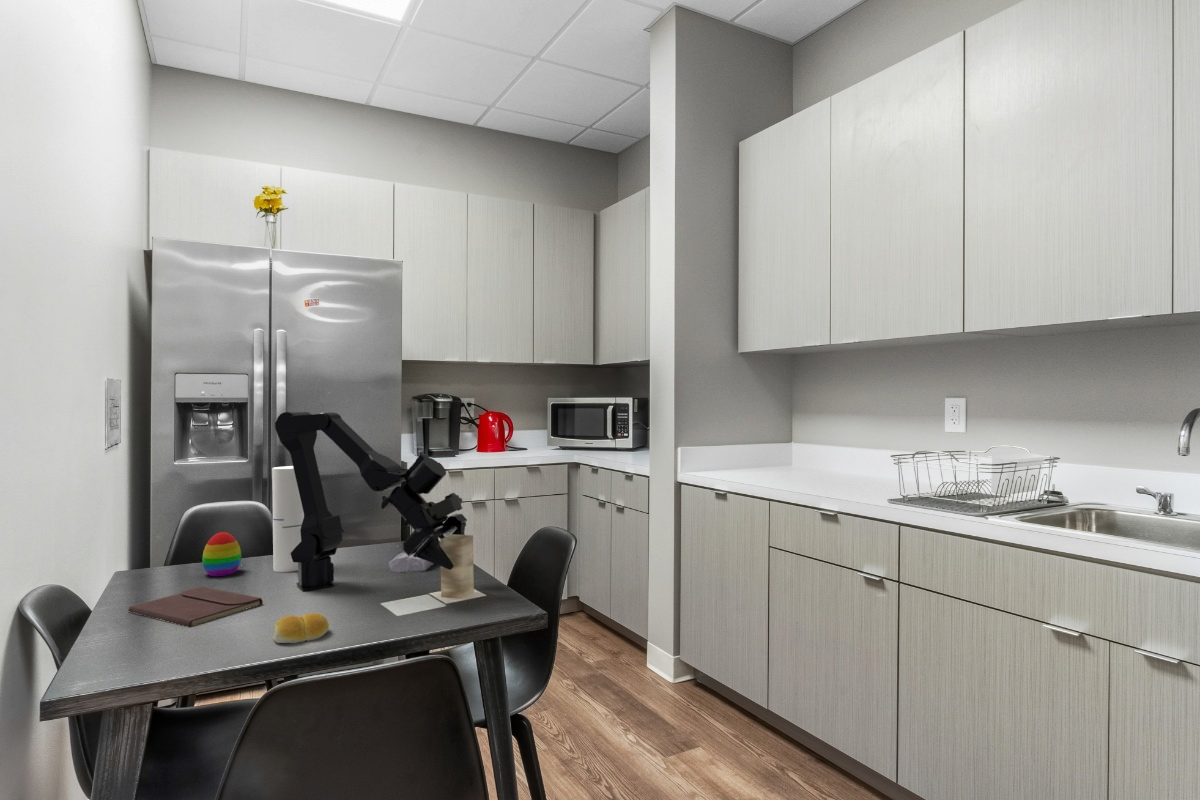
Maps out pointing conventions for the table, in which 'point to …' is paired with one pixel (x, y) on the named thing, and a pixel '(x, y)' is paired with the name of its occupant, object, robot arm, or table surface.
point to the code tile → (450, 600)
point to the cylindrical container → (285, 518)
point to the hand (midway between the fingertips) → (462, 562)
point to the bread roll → (300, 628)
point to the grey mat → (412, 605)
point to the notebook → (196, 606)
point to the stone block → (408, 563)
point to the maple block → (458, 566)
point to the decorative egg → (221, 555)
